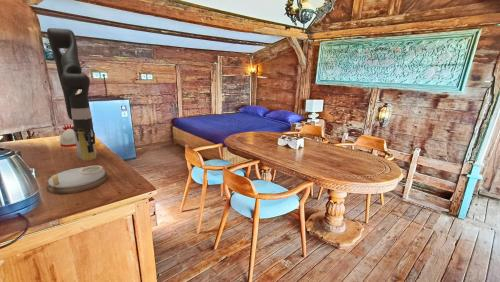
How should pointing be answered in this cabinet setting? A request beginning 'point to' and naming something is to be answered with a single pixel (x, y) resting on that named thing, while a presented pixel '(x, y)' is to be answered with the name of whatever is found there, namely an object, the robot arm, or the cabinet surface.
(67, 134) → the kitchen timer
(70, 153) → the cabinet surface
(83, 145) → the vase
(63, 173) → the turntable
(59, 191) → the turntable base
